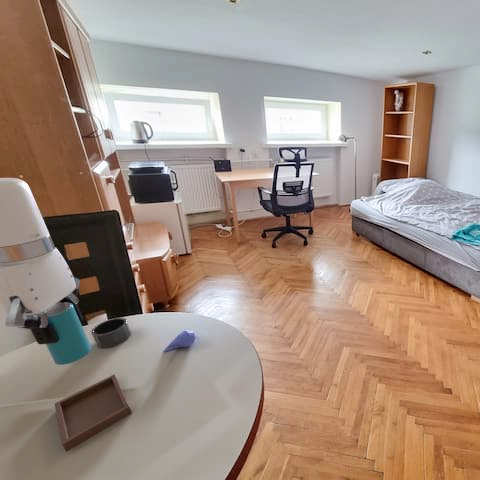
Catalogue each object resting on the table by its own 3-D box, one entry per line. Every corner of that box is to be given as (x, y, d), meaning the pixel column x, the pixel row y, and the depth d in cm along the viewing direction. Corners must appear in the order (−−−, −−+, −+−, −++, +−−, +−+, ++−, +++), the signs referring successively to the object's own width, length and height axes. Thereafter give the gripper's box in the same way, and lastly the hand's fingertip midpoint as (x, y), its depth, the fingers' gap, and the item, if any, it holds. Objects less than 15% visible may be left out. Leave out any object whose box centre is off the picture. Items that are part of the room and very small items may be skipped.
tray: (57, 409, 64) (54, 403, 63) (117, 380, 71) (114, 374, 70) (66, 451, 55) (62, 444, 55) (132, 412, 63) (129, 406, 62)
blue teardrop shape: (204, 337, 85) (191, 328, 87) (191, 331, 80) (178, 322, 83) (184, 363, 81) (171, 353, 84) (170, 358, 77) (156, 348, 79)
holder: (90, 351, 80) (83, 337, 79) (108, 332, 88) (103, 319, 86) (121, 347, 82) (116, 333, 80) (137, 329, 89) (132, 316, 87)
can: (47, 366, 57) (22, 320, 53) (68, 346, 62) (48, 303, 58) (79, 363, 57) (57, 317, 53) (97, 343, 63) (79, 300, 59)
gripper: (40, 234, 58) (73, 308, 65) (-59, 273, 42) (-2, 366, 49) (82, 232, 59) (110, 305, 66) (1, 269, 44) (48, 361, 50)
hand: (62, 330), depth 57 cm, fingers closed on can, 5 cm apart
